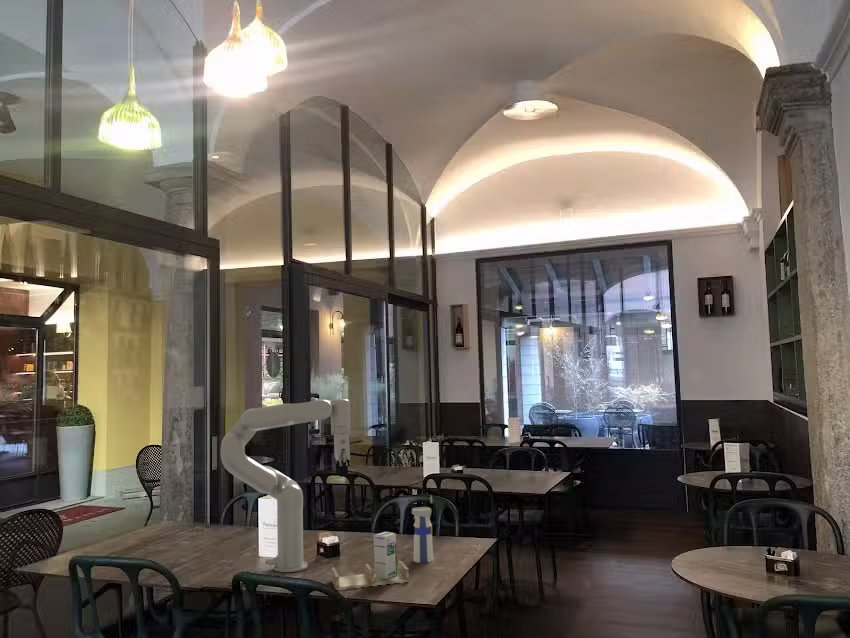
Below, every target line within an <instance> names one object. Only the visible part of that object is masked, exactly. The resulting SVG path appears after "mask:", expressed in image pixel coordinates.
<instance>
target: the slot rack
mask: <svg viewBox="0 0 850 638" xmlns="http://www.w3.org/2000/svg"><path fill="white" fill-rule="evenodd" d="M330 569H331V572H330V573H331V583H332V582H333V583H332V584H334V585H333V586H334V589H335V590H338V591H346V589H347V590H355V589H354V588H356V589H362V588H361V587H364V588H370V587H369V586H373V587H378V586H377V585H382V586H387V585H386V584H391V585H395V584H394V583H400V584H405V583H404V582H408V583H410V572H409V571H410V569H409V567H407V565H405V564H404V562H403V561H402V560H401V559H400V560H398V559H397V575H395V576H393V577H390V578H388V579H384V578H379V577H376V576H375V570H373V569H372V567H371V566H370V564H369V563H365V564H364V570H365V571H364V572H365V573H364V574H353V575H346V576H340V575H339V574H338V572H337V570H336V567H334V566H333V567H332V566H331V568H330Z"/></svg>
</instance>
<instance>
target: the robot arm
mask: <svg viewBox="0 0 850 638" xmlns="http://www.w3.org/2000/svg"><path fill="white" fill-rule="evenodd" d="M329 417H330V432H331V434H330V435H331V436H333V442H334V443H333V445H334V446H333V447H334V451H333V452H334V458H335V474H339V475H338V476H339V477H340V478H342V477H343V478H344V477H348V476H349V469H348V467H349V466H348V461H350V460H351V452H350V450H351V449H350V438H349V435H351V402H350V400H349V399H348V398H333V399H324V398H318V399H316V400H313V401H312V400H311V401H306V402H299V403H280V404H275V405H268V406H263V407H255V408H253V407H252V408H248V409H246V410H245V411H244V412H243V413H242V415H241V416H240V417H239V419H237V421H236V422H235V423H234V424H233V426H232V427H231V428H230V429H229V430H228V431H227V432H226V434H225V435H224V436H223V438H222V440H221V444H220V460H221V463H222V465H223V467H224V469H225V470H227V472H228V473H229V474H231V475H232V476H234V477H236V478H237V479H239V480H240V481H241V482H244V483H245V484H246V485H248V486H250V487H252V488H253V489H254V490H256V492H258V493H260V494H266V495H268V496H270V497H271V498H273V499H275V500H276V509H277V510H276V514H277V515H276V517H277V519H276V522H277V523H276V529H277V536H276V537H277V555H275V556H276V557H273V558H265V559H264V562H265V563H264V564H265V565H269V566H272V565H273V570H274V571H275V572H278V571H279V572H278V573H294V572H300V571H303V570H305V569H307V568H308V562H307V561H304V523H303V522H304V517H303V515H304V514H303V513H304V512H303V511H304V510H303V509H304V494H303V489H302V488H301V486H300V485H299V484H298V482H297V481H296V480H293V479H292V478H290V477H289V476H288V475H287V476H286V475H285V474H284V473H282V472H280V471H279V470H277V469H276V468H273V467H272V466H269V465H263V464H261V463H259V462H257V461H256V460H255V459H253V458H251V457H249V456H248V455H247V454H246V453H245V451H244V450H245V447H246V446H247V444H248V443H249V441H250V440H251V439H252V438H253V437H254V435H255V434H256V433H257V432H258V431H264V430H269V429H270V430H271V429H276V428H281V427H287V426H294V425H297V424H302V423H303V424H305V423H311V422H315V421H316V422H317V421H322V420H326V419H328V418H329Z"/></svg>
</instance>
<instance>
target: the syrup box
mask: <svg viewBox="0 0 850 638" xmlns="http://www.w3.org/2000/svg"><path fill="white" fill-rule="evenodd" d="M397 552H398V551H397V533H395V532H392V531H391V532H390V531H383V532H380V533H377V534H374V535H373V553H374V573H375V576H376V577H379V578H384V579H388V578H390V577H393V576H395V575H397V571H398V556H397V555H398V553H397Z"/></svg>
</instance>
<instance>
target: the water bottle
mask: <svg viewBox="0 0 850 638" xmlns="http://www.w3.org/2000/svg"><path fill="white" fill-rule="evenodd" d="M429 500H430V503H431V504H432V503H434V501H433V496H432V495H430V497H429ZM411 514H412V515H414V523H413V527H414V535H413V562H414V563H417V564H419V563H420V564H421V563H422V564H425V563H426V562H427V563H432V562H434V550H433V549H434V548H433V524H432V523H431V520H430V519H431V516H432V508H431V507H428V506H420V507H413V508H411ZM431 561H432V562H431ZM427 563H426V564H427Z"/></svg>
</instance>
